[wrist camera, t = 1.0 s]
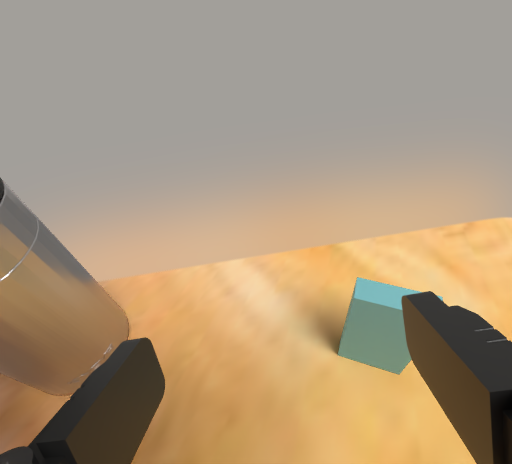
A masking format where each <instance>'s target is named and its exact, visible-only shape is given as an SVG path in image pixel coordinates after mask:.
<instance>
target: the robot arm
mask: <svg viewBox="0 0 512 464" xmlns="http://www.w3.org/2000/svg"><path fill="white" fill-rule="evenodd" d="M401 303H402V311H403V319H404V327H405V335H406V342H407V347H408V350H409V353H410V356H411V359H412V361H413V363H414V365H415V366H416V368H417V370H418V371H419V373H420V374H421V376H422V378H423V379H424V381H425V382H426V384H427V385H428V387H429V389H430V390H431V392H432V393H433V395H434V397H435V398H436V400H437V401H438V403H439V404H440V406H441V408H442V409H443V411H444V412H445V414H446V416H447V417H448V419H449V420H450V422H451V423H452V425H453V427H454V428H455V430H456V431H457V433H458V435H459V436H460V438H461V439H462V441H463V443H464V444H465V446H466V447H467V449H468V450H469V452H470V454H471V455H472V457H473V458H474V460H475V462H476V463H477V464H512V342H511V341H508V340H507V338H506V337H505V336H504V335H502V334H501V333H500V332H499V331H498V330H496V329H495V330H494V328H493V326H491V325H490V324H489V323H488V322H487V321H485V320H484V319H483V318H482V317H480V316H479V315H478V314H476V313H474V312H471V311H469V310H467V309H464V308H462V307H460V306H450V307H448V306H447V305H446V304H445V303H444V302H443V301H442V300H441V299H439V298H438V297H437V296H436V295H435V294H434V293H433V292H431V291H428V292H422V293H416V294H410V295H404V296H402V300H401ZM128 331H129V325H128V319H127V317H126V315H125V313H124V311H123V310H122V309H121V308H120V307H119V306H118V305H117V304H116V302H115V301H114V300H113V299H112V298H111V297H110V296H109V295H108V294H107V293H106V291H105V290H104V289H103V288H102V287H101V286H100V285H99V284H98V282H97V281H96V280H95V279H94V278H93V277H92V276H91V275H90V274H89V273H88V272H87V271H86V269H84V267H83V266H82V265H81V264H80V263H79V262H78V261H77V260H76V259H75V258H74V257H73V255H72V254H71V253H70V252H69V251H68V250H67V249H66V248H65V247H64V246H63V245H62V243H60V241H59V240H58V239H57V238H56V237H55V236H54V235H53V234H52V233H51V232H50V230H49V229H48V228H47V227H46V226H45V225H44V224H43V223H42V222H41V221H40V220H39V219H38V217H36V215H35V214H33V212H32V211H31V210H30V209H29V208H28V207H27V206H26V205H25V204H24V203H23V202H22V201H21V199H20V198H19V197H18V196H17V195H16V194H15V193H14V192H13V191H12V190H11V189H10V188H9V186H7V184H6V183H5V182H4V181H3V180H2V179H1V178H0V373H1V374H3V375H6V376H8V377H11V378H13V379H15V380H17V381H20V382H22V383H24V384H27V385H29V386H32V387H34V388H37V389H39V390H41V391H44V392H46V393H49V394H52V395H67V394H73V393H74V394H73V395H72V396H71V397H70V398H71V399H70V400H68V401H67V402H66V403H65V404H64V405H63V406H62V408H61V409H60V410H59V411H58V412H57V413H56V415H55V416H54V417H53V418H52V419H51V420H50V421H49V423H48V424H47V425H46V426H45V427H44V428H43V430H42V431H41V432H40V433H39V434H38V435H37V436H36V438H35V439H34V440H33V441H32V442H31V443H30V445H29V446H28V447H24V446H23V447H17V448H14V449H11V450H9V451H7V452H5V453H3V454H1V455H0V464H131V462H132V460H133V457H134V455H135V453H136V451H137V449H138V447H139V445H140V443H141V441H142V439H143V437H144V435H145V433H146V431H147V429H148V427H149V425H150V423H151V420H152V418H153V416H154V414H155V412H156V410H157V408H158V406H159V404H160V402H161V400H162V398H163V395H164V390H165V379H164V375H163V372H162V370H161V367H160V364H159V362H158V359H157V356H156V353H155V351H154V348H153V345H152V343H151V341H150V340H149V339H148V338H140V339H133V340H127V338H128Z"/></svg>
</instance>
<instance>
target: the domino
mask: <svg viewBox="0 0 512 464" xmlns="http://www.w3.org/2000/svg"><path fill="white" fill-rule="evenodd" d="M416 293H422V292H419V291H415V290H410V289H406V288H402V287H397V286H393V285H388V284H384V283H380V282H375V281H371V280H367V279H362V278H358V277H357V280H356V284H355V288H354V291H353V295H352V299H351V302H350V306H349V310H348V313H347V317H346V321H345V324H344V328H343V332H342V335H341V340H340V345H339V351H338V355H339V356H342V357H345V358H348V359H351V360H355V361H358V362H361V363H364V364H367V365H370V366H374V367H377V368H380V369H383V370H386V371H389V372H393V373H396V374H400V373H401V372H402V370H403V369H404V368H405V367H406V366H407V364H408V363H409V362H410V361H411V356H410V353H409V350H408V347H407V342H406V335H405V327H404V319H403V311H402V303H401V300H402V296H404V295H410V294H416ZM437 297H438V298H439V299H441V300H442V301H443V299H442V297H441V296H437Z"/></svg>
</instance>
